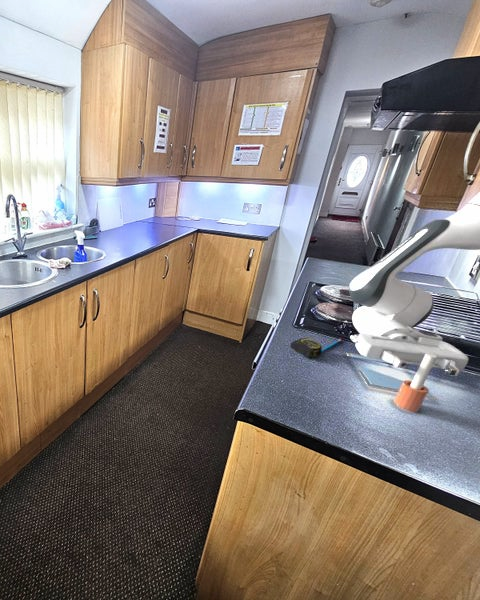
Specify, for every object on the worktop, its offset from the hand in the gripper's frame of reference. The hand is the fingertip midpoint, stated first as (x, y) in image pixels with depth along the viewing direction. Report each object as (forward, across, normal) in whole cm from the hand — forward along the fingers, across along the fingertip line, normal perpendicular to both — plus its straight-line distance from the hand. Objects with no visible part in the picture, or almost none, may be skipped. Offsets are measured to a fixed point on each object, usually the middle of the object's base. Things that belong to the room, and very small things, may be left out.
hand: (427, 369), depth 73 cm
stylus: (-1, 0, +11) cm, 11 cm away
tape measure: (-20, -16, +11) cm, 28 cm away
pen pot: (-1, 0, +11) cm, 11 cm away
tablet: (-15, +2, +11) cm, 19 cm away
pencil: (-27, -8, +11) cm, 30 cm away
